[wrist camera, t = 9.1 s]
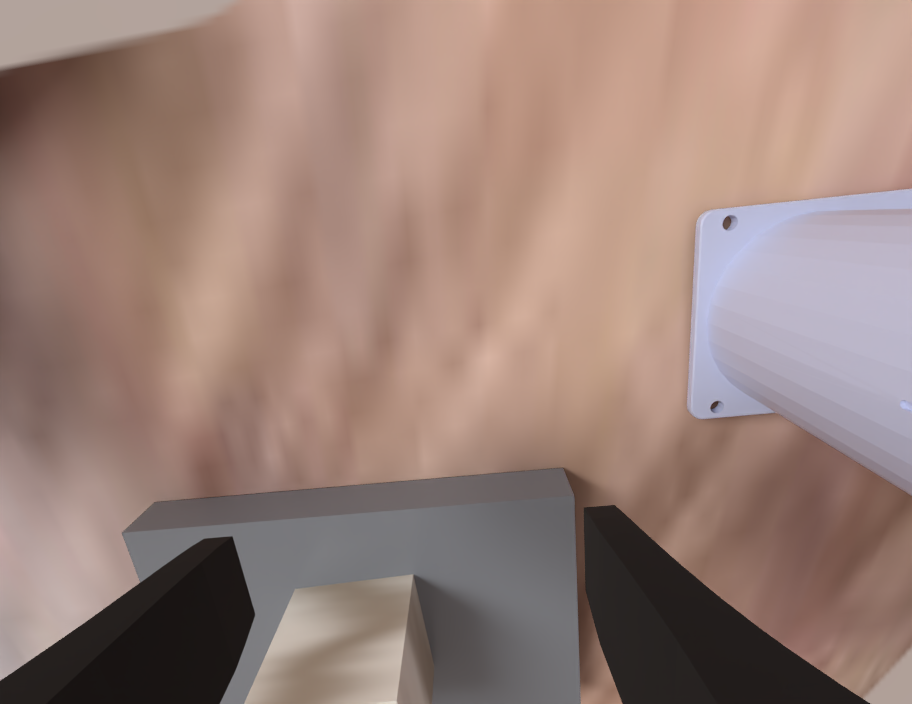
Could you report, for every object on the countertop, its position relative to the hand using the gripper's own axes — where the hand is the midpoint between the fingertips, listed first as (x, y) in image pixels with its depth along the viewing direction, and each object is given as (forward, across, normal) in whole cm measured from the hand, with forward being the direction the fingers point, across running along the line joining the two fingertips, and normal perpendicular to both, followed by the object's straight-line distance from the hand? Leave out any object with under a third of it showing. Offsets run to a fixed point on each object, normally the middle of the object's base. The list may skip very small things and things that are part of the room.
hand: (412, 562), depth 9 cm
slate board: (+9, +4, +10) cm, 14 cm away
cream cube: (+7, +4, +10) cm, 13 cm away
